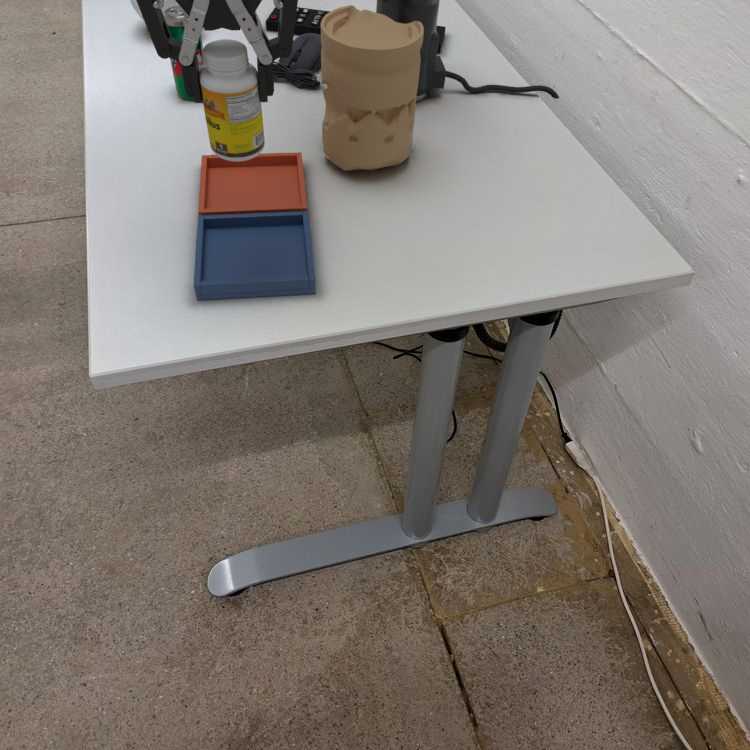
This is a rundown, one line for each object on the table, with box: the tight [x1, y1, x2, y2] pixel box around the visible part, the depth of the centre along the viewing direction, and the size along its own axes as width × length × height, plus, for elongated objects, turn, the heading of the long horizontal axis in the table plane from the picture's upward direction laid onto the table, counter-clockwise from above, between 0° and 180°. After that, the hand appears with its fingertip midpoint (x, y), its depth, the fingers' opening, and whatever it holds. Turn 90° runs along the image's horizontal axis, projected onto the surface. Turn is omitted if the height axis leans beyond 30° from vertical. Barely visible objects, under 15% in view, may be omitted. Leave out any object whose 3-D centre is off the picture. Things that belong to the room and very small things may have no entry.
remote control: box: [265, 6, 447, 55], centre depth 115 cm, size 8×32×2 cm, turn 79°
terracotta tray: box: [197, 152, 309, 216], centre depth 84 cm, size 13×12×2 cm
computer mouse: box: [272, 33, 322, 90], centre depth 106 cm, size 10×15×4 cm
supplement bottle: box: [199, 38, 266, 161], centre depth 62 cm, size 6×6×10 cm
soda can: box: [164, 6, 205, 101], centre depth 95 cm, size 5×5×12 cm
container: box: [320, 4, 424, 172], centre depth 84 cm, size 13×13×18 cm
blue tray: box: [193, 210, 317, 301], centre depth 76 cm, size 13×12×2 cm
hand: (232, 98), depth 62 cm, fingers closed on supplement bottle, 5 cm apart
